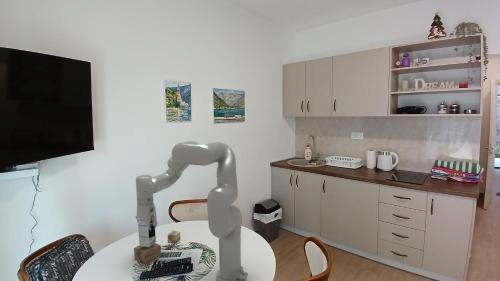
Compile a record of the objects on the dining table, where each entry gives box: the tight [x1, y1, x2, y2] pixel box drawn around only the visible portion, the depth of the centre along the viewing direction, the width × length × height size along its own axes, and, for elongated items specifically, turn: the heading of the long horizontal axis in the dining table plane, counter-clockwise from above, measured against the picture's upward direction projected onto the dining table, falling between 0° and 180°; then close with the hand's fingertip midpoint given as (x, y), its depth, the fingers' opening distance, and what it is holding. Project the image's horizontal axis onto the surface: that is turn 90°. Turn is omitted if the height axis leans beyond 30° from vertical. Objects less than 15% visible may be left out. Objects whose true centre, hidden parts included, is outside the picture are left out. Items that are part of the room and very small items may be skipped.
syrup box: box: [137, 217, 157, 247], centre depth 130 cm, size 6×6×14 cm
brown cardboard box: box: [133, 242, 162, 266], centre depth 131 cm, size 9×9×6 cm
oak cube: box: [167, 230, 181, 245], centre depth 148 cm, size 5×5×5 cm
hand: (147, 234), depth 130 cm, fingers closed on syrup box, 7 cm apart
